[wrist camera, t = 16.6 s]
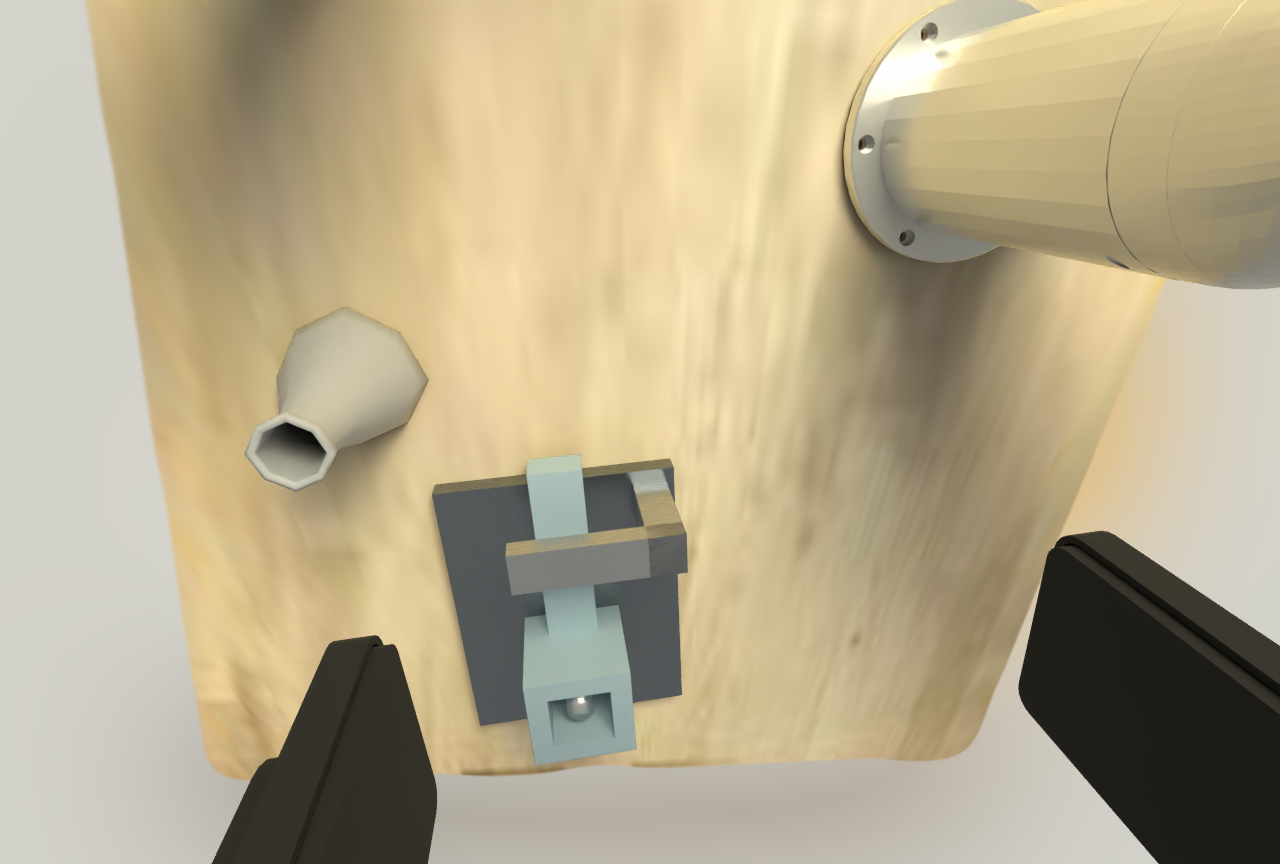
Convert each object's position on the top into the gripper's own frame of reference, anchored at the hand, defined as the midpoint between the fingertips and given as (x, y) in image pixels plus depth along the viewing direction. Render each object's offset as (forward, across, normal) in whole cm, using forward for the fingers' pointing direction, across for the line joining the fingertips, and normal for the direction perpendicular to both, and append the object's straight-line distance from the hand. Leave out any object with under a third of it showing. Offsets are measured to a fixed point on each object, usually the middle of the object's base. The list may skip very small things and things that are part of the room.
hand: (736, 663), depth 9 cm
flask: (+28, +13, +3) cm, 31 cm away
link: (+27, +4, +18) cm, 32 cm away
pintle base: (+28, +4, +20) cm, 34 cm away
